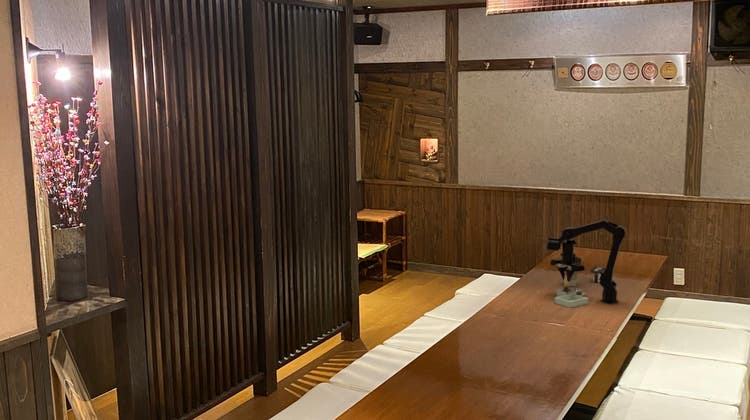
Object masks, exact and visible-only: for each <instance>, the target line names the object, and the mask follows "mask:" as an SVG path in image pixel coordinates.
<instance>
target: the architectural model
mask: <svg viewBox="0 0 750 420" xmlns="http://www.w3.org/2000/svg"><path fill="white" fill-rule="evenodd" d="M605 269H606V267H601V266H599V265H598V266H594V267H593V268H591V269H590V270H589V272H590V273H592V283H595V282H596V281H597V283H599V284H600V280H599V278H600V276H601V272H602V270H604V271H605Z"/></svg>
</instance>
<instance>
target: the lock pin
mask: <svg viewBox="0 0 750 420" xmlns="http://www.w3.org/2000/svg"><path fill="white" fill-rule="evenodd" d="M564 273H565V274H564V280H563V288H564V290H569V289H570V286H569V282H568V280H567V274H566V270H564Z"/></svg>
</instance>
